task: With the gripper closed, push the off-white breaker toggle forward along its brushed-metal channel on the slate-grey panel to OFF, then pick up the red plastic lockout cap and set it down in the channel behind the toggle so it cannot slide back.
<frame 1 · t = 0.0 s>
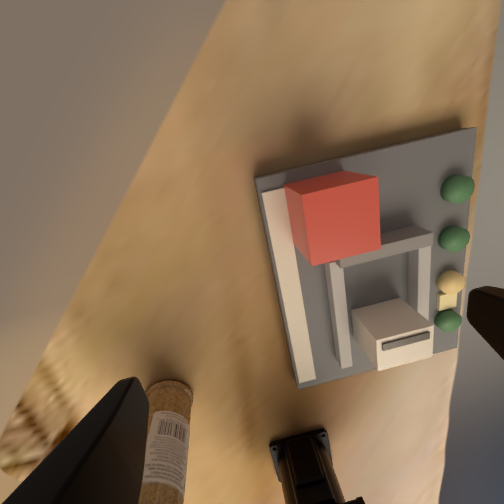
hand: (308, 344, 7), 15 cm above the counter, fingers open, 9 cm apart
sprinkles bottle: (170, 394, 26), on the counter
breaker toggle: (390, 332, 22), point 3 cm above the counter, slide at 0.0 cm
lockout cap: (317, 207, 20), point 1 cm above the counter, touching breaker panel
breaker panel: (366, 272, 24), on the counter
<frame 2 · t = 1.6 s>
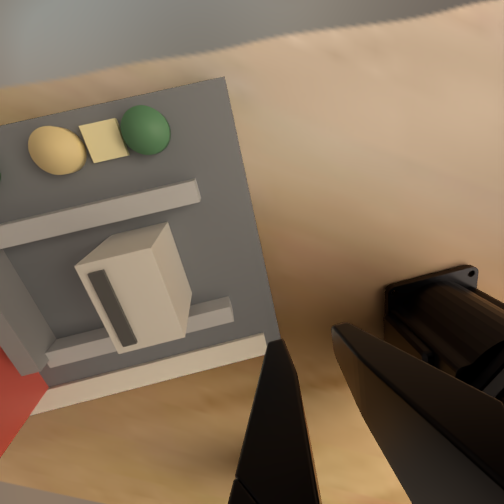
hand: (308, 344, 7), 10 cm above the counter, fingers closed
breaker toggle: (144, 283, 13), point 3 cm above the counter, slide at 0.0 cm
breaker panel: (91, 273, 16), on the counter
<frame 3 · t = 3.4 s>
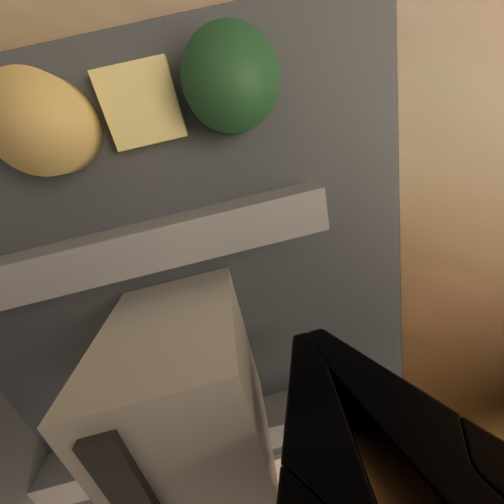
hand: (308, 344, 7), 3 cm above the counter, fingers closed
breaker toggle: (193, 397, 7), point 3 cm above the counter, slide at 0.6 cm, touching gripper
breaker panel: (106, 342, 10), on the counter
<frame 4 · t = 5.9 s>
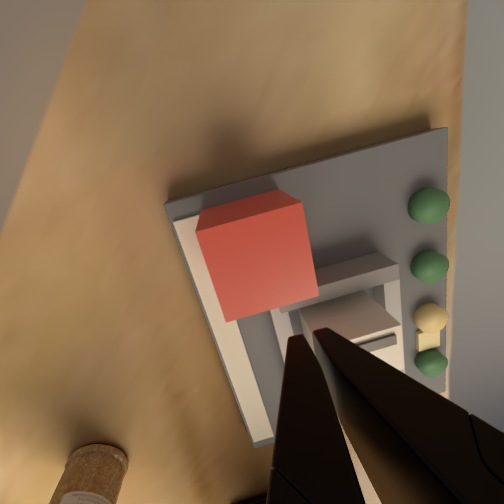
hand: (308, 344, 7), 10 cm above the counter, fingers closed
sprinkles bottle: (101, 458, 22), on the counter
breaker toggle: (347, 336, 16), point 3 cm above the counter, slide at 4.0 cm
lockout cap: (249, 236, 16), point 1 cm above the counter, touching breaker panel
breaker panel: (326, 307, 20), on the counter
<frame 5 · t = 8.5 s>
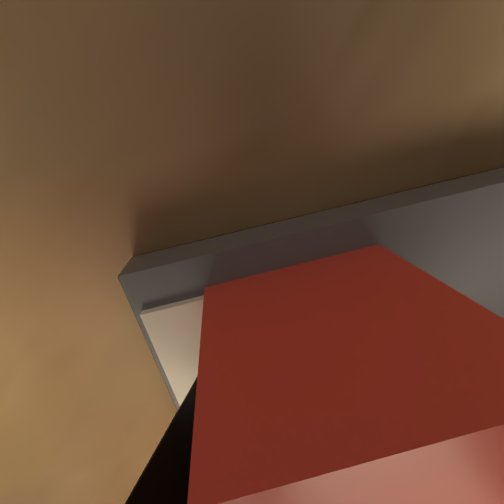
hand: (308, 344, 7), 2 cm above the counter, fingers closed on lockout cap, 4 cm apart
lockout cap: (304, 336, 8), point 1 cm above the counter, touching breaker panel, gripper
breaker panel: (412, 427, 11), on the counter
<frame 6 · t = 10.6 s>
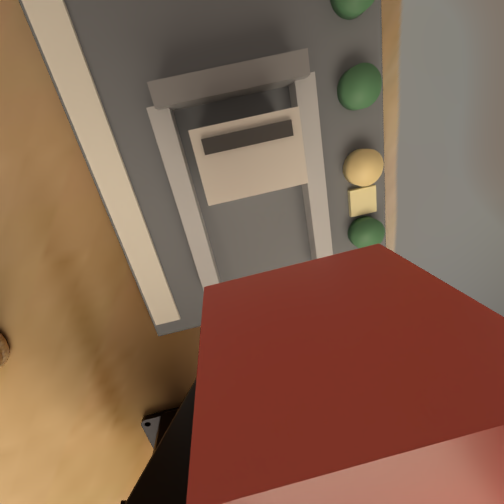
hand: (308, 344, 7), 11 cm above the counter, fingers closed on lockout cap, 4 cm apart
breaker toggle: (246, 156, 13), point 3 cm above the counter, slide at 4.0 cm
lockout cap: (304, 336, 8), point 11 cm above the counter, touching gripper
breaker panel: (241, 154, 16), on the counter
when the fingers open (3 cm above the counter, at t = 12.8 s): lockout cap drops 2 cm, resting on breaker panel.
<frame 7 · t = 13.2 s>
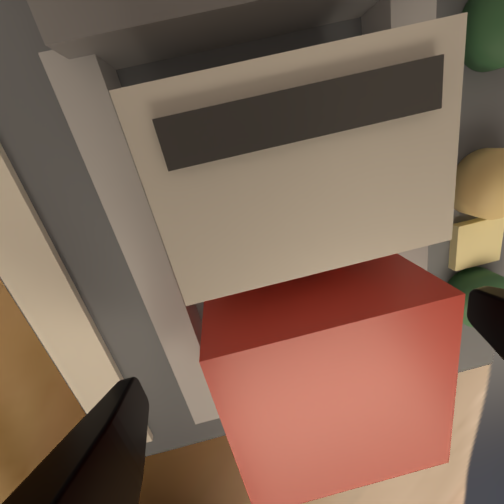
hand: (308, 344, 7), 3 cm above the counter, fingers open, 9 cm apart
breaker toggle: (279, 167, 6), point 3 cm above the counter, slide at 4.0 cm
lockout cap: (288, 300, 9), point 1 cm above the counter, touching breaker panel
breaker panel: (257, 161, 9), on the counter
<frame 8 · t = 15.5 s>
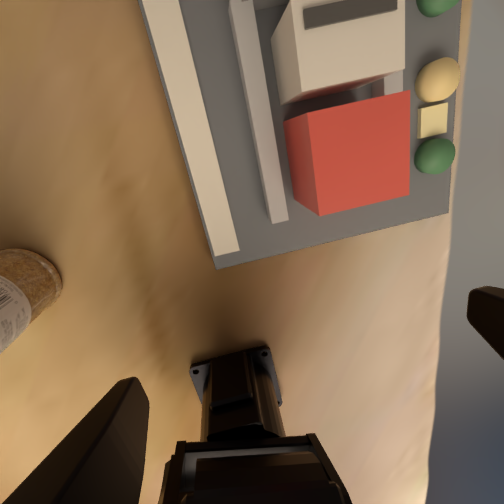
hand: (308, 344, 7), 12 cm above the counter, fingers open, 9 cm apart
sprinkles bottle: (29, 277, 18), on the counter
breaker toggle: (331, 52, 12), point 3 cm above the counter, slide at 4.0 cm
lockout cap: (325, 154, 16), point 1 cm above the counter, touching breaker panel
breaker panel: (308, 71, 16), on the counter
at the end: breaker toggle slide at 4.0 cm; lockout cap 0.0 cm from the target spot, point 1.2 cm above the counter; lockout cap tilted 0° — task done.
